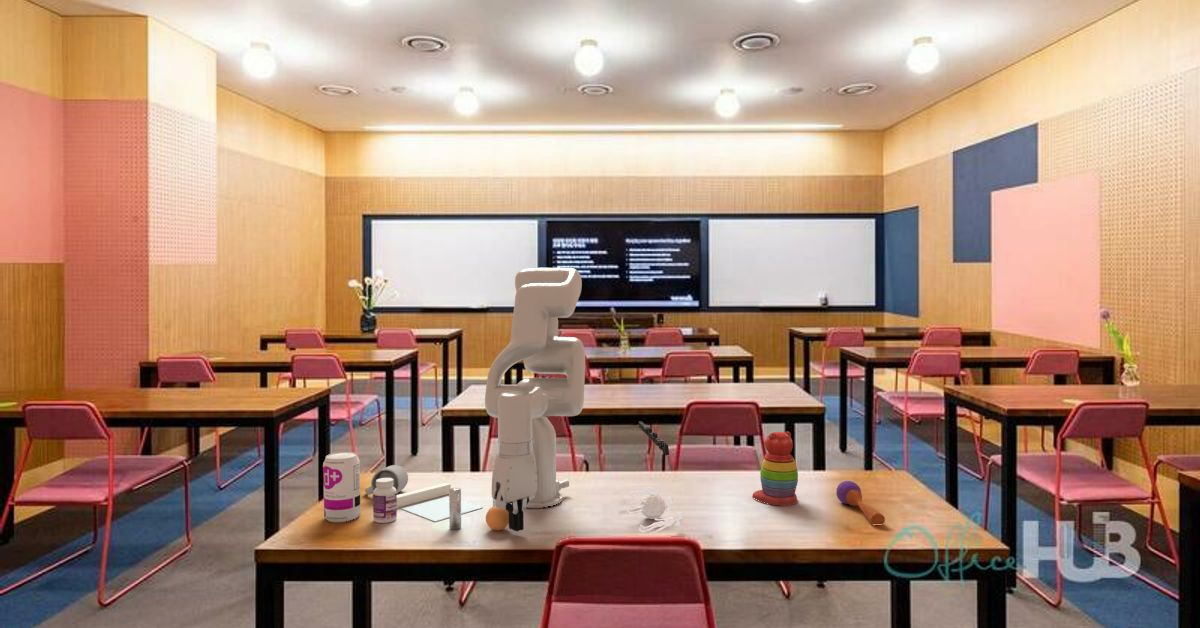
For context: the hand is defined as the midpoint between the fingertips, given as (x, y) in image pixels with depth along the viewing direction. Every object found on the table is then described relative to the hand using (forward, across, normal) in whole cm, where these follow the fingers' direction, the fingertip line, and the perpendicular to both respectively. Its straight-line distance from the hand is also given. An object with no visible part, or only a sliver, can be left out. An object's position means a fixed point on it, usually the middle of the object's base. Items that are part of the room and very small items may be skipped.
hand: (516, 529), depth 163 cm
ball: (-2, +1, -5) cm, 6 cm away
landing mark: (+1, 0, -27) cm, 27 cm away
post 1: (+1, +6, -14) cm, 15 cm away
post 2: (+1, -6, -13) cm, 15 cm away
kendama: (+2, -66, +51) cm, 83 cm away
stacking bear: (+2, -61, +32) cm, 69 cm away
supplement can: (+2, +20, -40) cm, 44 cm away
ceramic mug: (+2, +2, -49) cm, 49 cm away
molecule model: (+2, -28, +16) cm, 33 cm away
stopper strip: (+2, 0, -37) cm, 37 cm away
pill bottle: (+2, +14, -31) cm, 34 cm away
